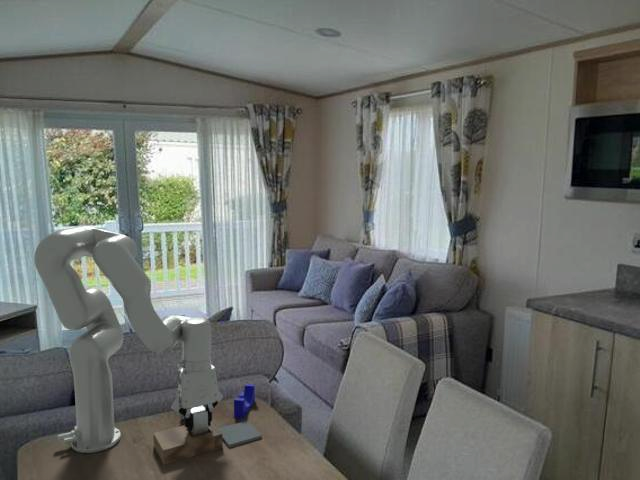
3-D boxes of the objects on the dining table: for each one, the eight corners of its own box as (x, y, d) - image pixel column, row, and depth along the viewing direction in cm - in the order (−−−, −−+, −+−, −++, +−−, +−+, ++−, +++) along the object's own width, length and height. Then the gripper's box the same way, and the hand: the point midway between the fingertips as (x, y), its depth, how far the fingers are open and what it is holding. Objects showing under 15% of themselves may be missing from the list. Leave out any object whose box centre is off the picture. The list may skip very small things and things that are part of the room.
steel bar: (194, 449, 136) (193, 415, 134) (189, 442, 139) (188, 409, 138) (208, 445, 138) (207, 411, 136) (203, 438, 141) (202, 405, 140)
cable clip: (241, 400, 166) (241, 383, 165) (254, 401, 165) (254, 384, 164) (229, 417, 154) (229, 399, 153) (243, 419, 153) (243, 400, 152)
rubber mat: (229, 447, 137) (228, 444, 137) (216, 431, 145) (216, 429, 145) (262, 437, 142) (262, 435, 142) (247, 422, 150) (247, 420, 150)
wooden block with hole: (163, 464, 128) (163, 450, 128) (153, 446, 137) (153, 433, 136) (222, 447, 137) (222, 433, 136) (209, 431, 145) (209, 418, 145)
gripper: (169, 374, 128) (171, 441, 130) (231, 362, 137) (232, 424, 139) (162, 364, 134) (163, 428, 136) (221, 353, 143) (222, 413, 145)
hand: (198, 425), depth 138 cm, fingers open, 4 cm apart
